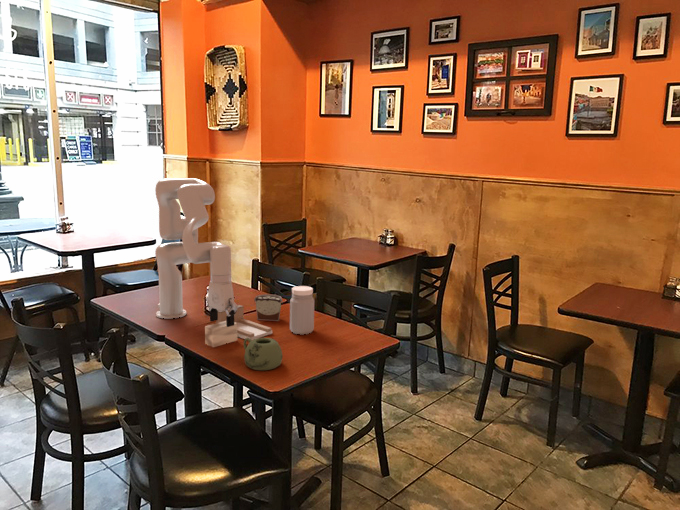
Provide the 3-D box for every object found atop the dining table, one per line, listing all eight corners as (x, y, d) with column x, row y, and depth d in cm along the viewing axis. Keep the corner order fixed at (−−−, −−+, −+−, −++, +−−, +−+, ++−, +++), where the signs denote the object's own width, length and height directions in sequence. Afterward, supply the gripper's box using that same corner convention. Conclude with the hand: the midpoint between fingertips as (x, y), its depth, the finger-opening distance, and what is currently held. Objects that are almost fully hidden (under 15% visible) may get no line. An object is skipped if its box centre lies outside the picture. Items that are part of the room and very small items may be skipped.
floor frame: (216, 328, 217) (216, 310, 216) (239, 322, 226) (239, 304, 225) (249, 340, 205) (249, 321, 203) (272, 333, 214) (272, 315, 212)
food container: (285, 316, 236) (285, 294, 234) (282, 321, 230) (282, 298, 228) (257, 315, 237) (257, 293, 235) (253, 319, 231) (254, 296, 229)
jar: (285, 333, 214) (286, 289, 211) (295, 326, 223) (296, 284, 220) (307, 336, 211) (308, 292, 208) (317, 329, 220) (318, 286, 217)
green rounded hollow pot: (290, 364, 184) (290, 340, 182) (263, 376, 173) (263, 350, 172) (257, 352, 193) (257, 329, 191) (229, 363, 183) (229, 338, 181)
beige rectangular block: (205, 344, 200) (204, 326, 199) (229, 337, 208) (229, 320, 207) (213, 347, 197) (213, 329, 196) (237, 340, 205) (237, 322, 204)
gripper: (198, 276, 200) (199, 321, 203) (227, 283, 189) (228, 330, 192) (214, 273, 206) (215, 316, 209) (244, 280, 195) (245, 325, 198)
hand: (222, 323), depth 201 cm, fingers open, 9 cm apart
